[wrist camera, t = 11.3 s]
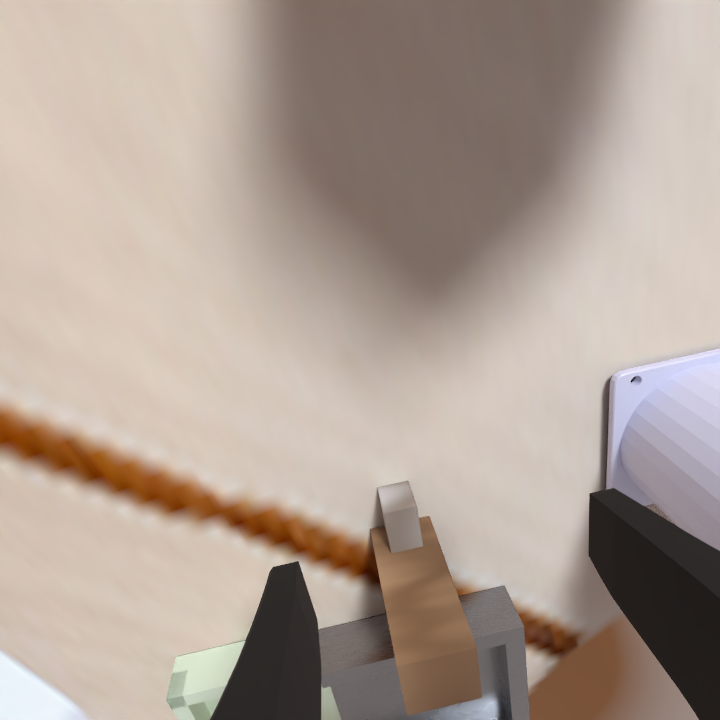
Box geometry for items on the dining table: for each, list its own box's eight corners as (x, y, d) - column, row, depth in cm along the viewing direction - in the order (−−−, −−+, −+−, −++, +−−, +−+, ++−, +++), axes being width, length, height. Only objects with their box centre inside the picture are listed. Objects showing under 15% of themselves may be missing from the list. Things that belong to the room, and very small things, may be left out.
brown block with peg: (423, 477, 23) (471, 602, 17) (440, 591, 26) (486, 733, 20) (361, 490, 23) (387, 622, 17) (386, 604, 26) (414, 750, 20)
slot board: (504, 585, 27) (523, 626, 25) (514, 705, 31) (531, 749, 29) (316, 630, 26) (318, 675, 24) (354, 745, 31) (359, 793, 29)
